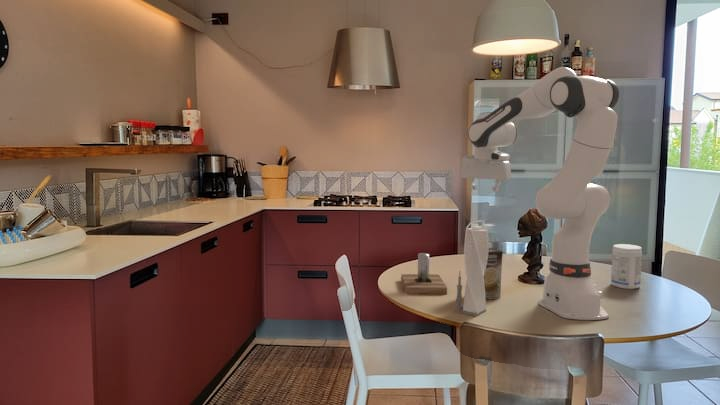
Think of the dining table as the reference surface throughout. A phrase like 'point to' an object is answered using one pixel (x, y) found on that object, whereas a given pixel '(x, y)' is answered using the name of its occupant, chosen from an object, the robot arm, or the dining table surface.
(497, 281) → the coffee box
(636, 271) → the supplement tub
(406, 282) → the slot plate
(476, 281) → the skyscraper
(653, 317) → the dining table surface
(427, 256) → the steel pin
